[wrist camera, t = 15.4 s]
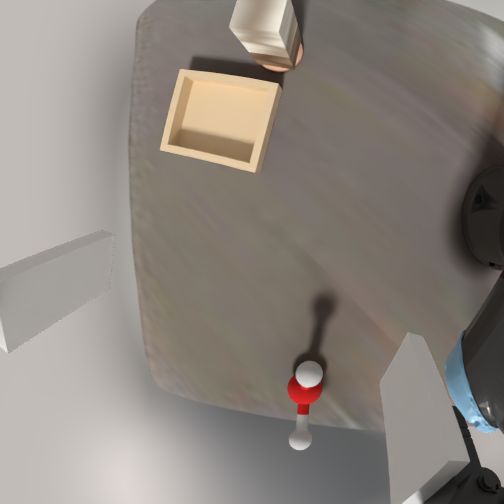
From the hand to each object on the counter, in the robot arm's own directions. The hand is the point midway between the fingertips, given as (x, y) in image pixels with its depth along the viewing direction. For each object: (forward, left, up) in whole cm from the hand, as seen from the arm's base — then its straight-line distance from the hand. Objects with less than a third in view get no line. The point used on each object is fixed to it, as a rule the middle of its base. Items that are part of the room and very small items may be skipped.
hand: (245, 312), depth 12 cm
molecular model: (+10, +26, -32) cm, 42 cm away
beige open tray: (+5, -16, -32) cm, 36 cm away
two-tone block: (-6, -21, -30) cm, 38 cm away
